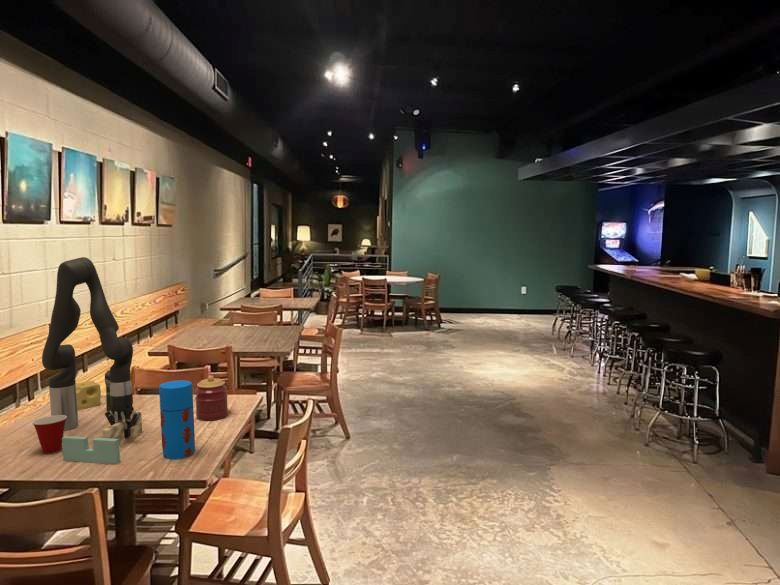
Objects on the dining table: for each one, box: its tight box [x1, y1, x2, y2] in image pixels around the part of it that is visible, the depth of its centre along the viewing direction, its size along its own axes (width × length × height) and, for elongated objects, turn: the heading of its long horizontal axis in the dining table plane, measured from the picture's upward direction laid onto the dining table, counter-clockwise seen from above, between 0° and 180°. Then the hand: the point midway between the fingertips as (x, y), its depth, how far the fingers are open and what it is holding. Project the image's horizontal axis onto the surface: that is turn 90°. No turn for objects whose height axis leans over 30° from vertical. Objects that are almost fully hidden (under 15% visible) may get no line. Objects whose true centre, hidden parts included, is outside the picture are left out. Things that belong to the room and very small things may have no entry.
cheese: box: [76, 380, 102, 411], centre depth 256 cm, size 10×11×10 cm
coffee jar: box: [104, 369, 112, 412], centre depth 246 cm, size 10×8×19 cm
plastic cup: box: [31, 415, 67, 455], centre depth 203 cm, size 11×11×12 cm
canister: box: [194, 374, 229, 422], centre depth 240 cm, size 13×13×18 cm
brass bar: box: [102, 411, 143, 447], centre depth 211 cm, size 20×2×8 cm, turn 171°
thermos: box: [158, 379, 196, 460], centre depth 199 cm, size 11×11×25 cm
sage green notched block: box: [62, 435, 121, 465], centre depth 194 cm, size 20×2×8 cm, turn 81°
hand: (124, 437), depth 212 cm, fingers closed on brass bar, 2 cm apart
